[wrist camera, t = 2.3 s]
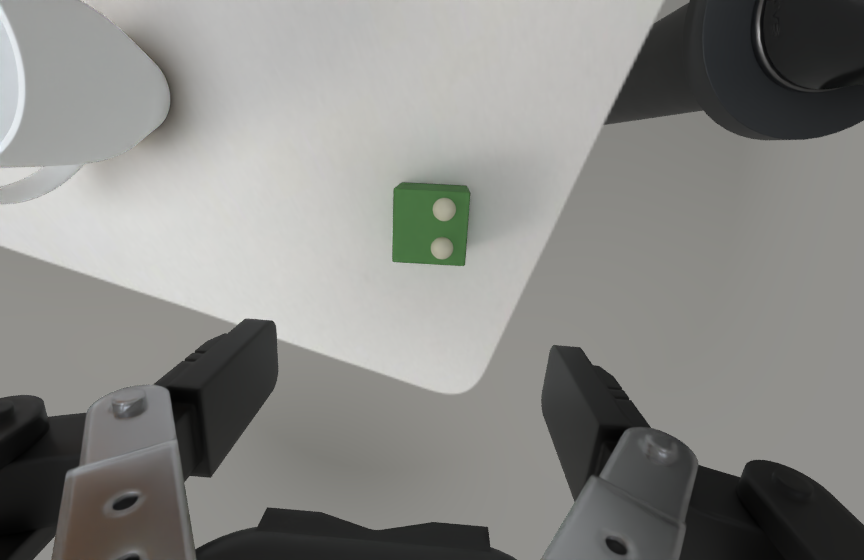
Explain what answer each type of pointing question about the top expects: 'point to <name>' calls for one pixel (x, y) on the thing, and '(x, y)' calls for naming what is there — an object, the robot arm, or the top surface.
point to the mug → (70, 92)
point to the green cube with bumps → (430, 223)
